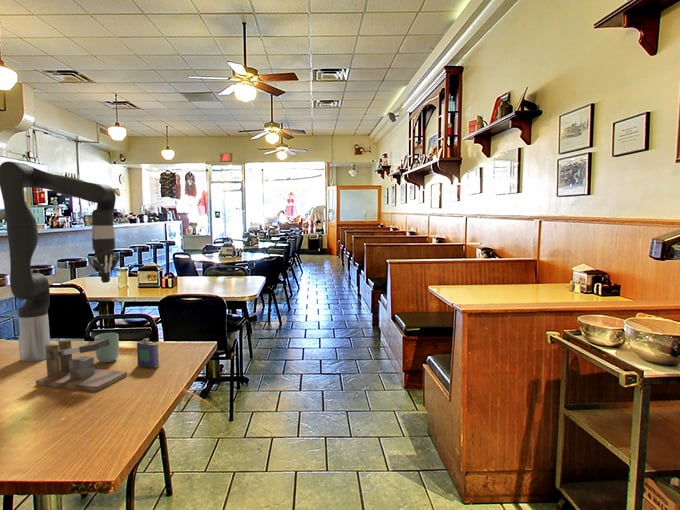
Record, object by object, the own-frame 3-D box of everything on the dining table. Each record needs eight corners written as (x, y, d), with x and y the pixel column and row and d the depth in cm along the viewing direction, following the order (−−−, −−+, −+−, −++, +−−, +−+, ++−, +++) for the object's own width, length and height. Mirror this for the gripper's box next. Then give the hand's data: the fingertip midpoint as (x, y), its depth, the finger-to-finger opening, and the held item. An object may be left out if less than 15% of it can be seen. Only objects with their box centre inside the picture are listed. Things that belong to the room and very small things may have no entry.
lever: (48, 358, 140) (47, 352, 140) (65, 352, 146) (63, 346, 146) (95, 350, 136) (93, 344, 136) (110, 344, 142) (108, 338, 142)
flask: (160, 366, 154) (159, 338, 153) (154, 369, 152) (152, 340, 150) (141, 363, 158) (139, 335, 157) (135, 366, 155) (133, 338, 154)
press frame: (36, 385, 138) (33, 348, 137) (69, 370, 151) (67, 336, 150) (97, 391, 133) (95, 353, 132) (127, 375, 146) (125, 340, 144)
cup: (123, 357, 164) (122, 332, 163) (111, 364, 157) (109, 338, 156) (105, 357, 165) (103, 332, 164) (91, 364, 157) (89, 338, 156)
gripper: (108, 236, 167) (110, 279, 169) (80, 238, 154) (83, 284, 156) (124, 236, 165) (126, 280, 167) (97, 238, 153) (100, 285, 154)
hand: (105, 282), depth 162 cm, fingers closed
